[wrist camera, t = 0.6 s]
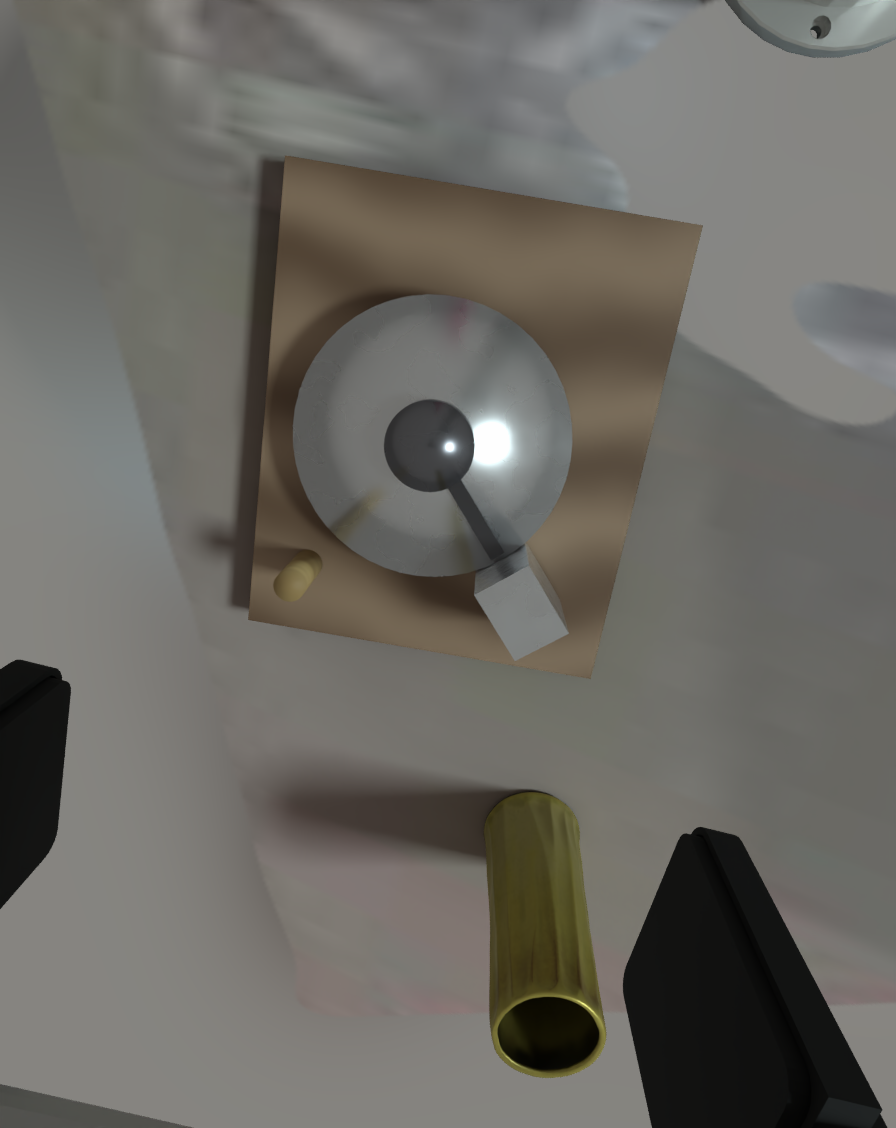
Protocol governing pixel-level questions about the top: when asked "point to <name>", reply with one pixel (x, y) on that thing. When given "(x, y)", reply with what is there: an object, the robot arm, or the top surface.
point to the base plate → (531, 300)
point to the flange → (441, 451)
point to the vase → (540, 940)
